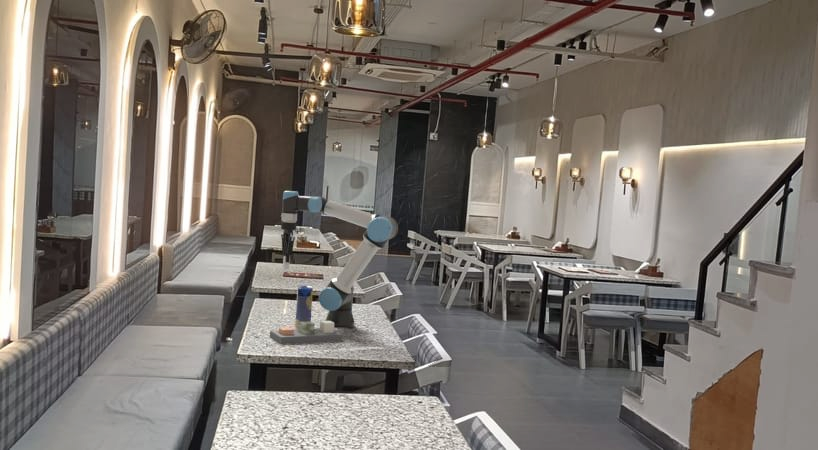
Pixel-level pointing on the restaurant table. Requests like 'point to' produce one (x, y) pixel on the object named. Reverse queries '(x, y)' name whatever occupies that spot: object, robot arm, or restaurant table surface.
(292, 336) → the gray slotted block tray
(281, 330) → the terracotta block
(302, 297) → the beverage box
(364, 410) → the restaurant table surface
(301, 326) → the sage block
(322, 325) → the off-white block
